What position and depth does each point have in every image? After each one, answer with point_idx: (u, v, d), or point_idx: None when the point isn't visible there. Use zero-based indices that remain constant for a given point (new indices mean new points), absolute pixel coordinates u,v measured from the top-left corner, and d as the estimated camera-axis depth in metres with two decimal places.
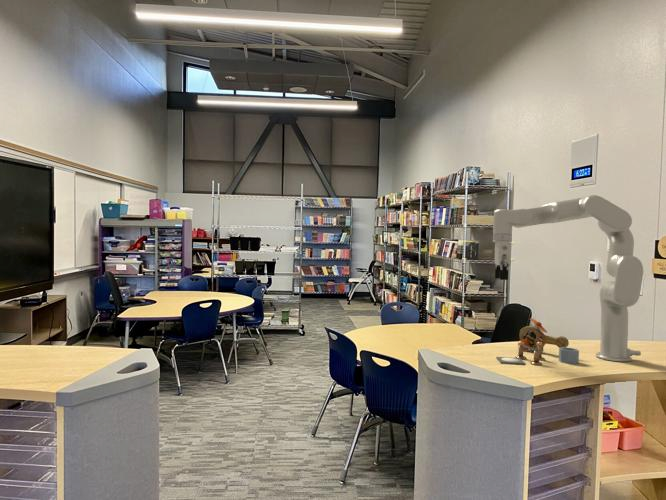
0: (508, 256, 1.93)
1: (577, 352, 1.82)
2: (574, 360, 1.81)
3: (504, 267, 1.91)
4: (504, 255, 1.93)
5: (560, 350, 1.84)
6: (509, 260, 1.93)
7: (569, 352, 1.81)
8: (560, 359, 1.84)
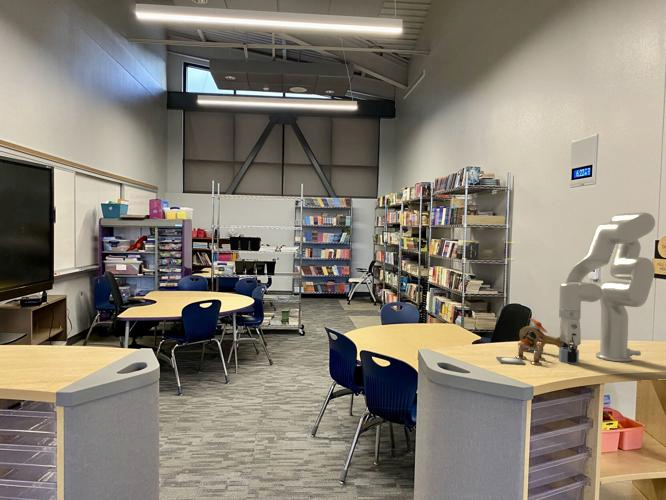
0: (578, 335, 1.79)
1: (577, 352, 1.82)
2: None
3: (573, 349, 1.78)
4: (573, 336, 1.79)
5: (560, 350, 1.84)
6: (579, 340, 1.79)
7: None
8: (560, 359, 1.84)
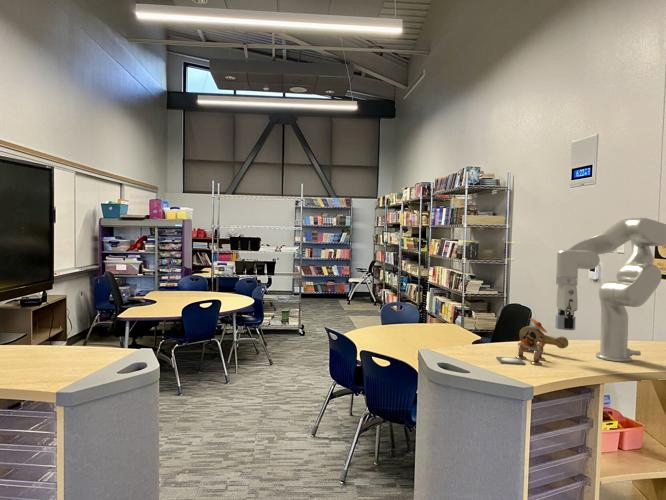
0: (575, 301, 1.79)
1: (574, 318, 1.82)
2: None
3: (570, 315, 1.79)
4: (570, 301, 1.79)
5: (557, 317, 1.84)
6: (576, 306, 1.79)
7: None
8: (557, 326, 1.84)
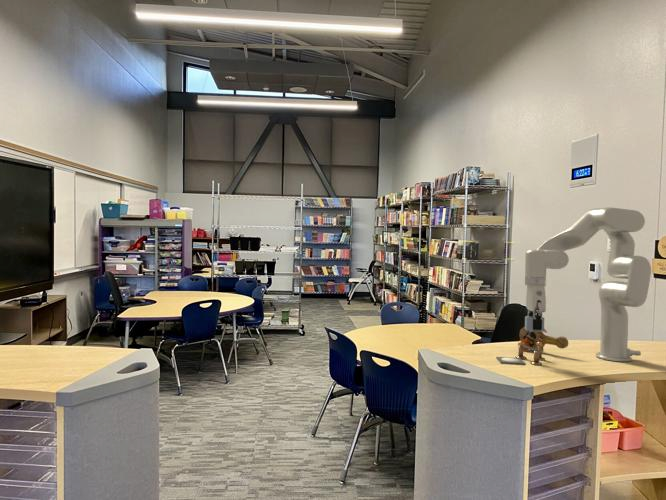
0: (543, 302, 1.76)
1: (542, 320, 1.78)
2: None
3: (538, 317, 1.75)
4: (538, 302, 1.76)
5: (526, 318, 1.81)
6: (544, 307, 1.76)
7: None
8: (526, 327, 1.81)
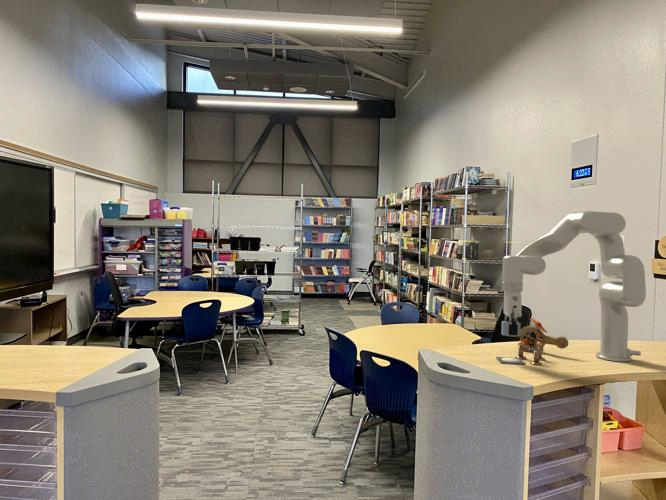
0: (519, 308, 1.77)
1: (518, 325, 1.80)
2: None
3: (513, 322, 1.77)
4: (514, 308, 1.77)
5: (502, 323, 1.83)
6: (520, 312, 1.77)
7: None
8: (502, 332, 1.82)
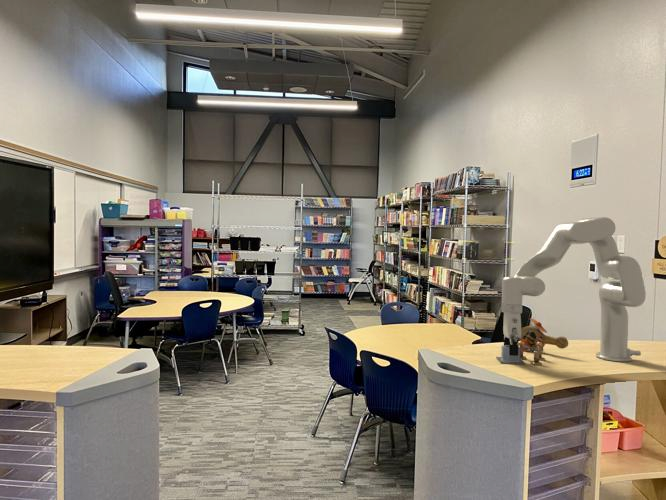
0: (518, 330, 1.77)
1: (518, 350, 1.80)
2: (515, 358, 1.79)
3: (514, 342, 1.76)
4: (514, 329, 1.77)
5: (502, 348, 1.83)
6: (519, 334, 1.77)
7: None
8: (502, 357, 1.82)
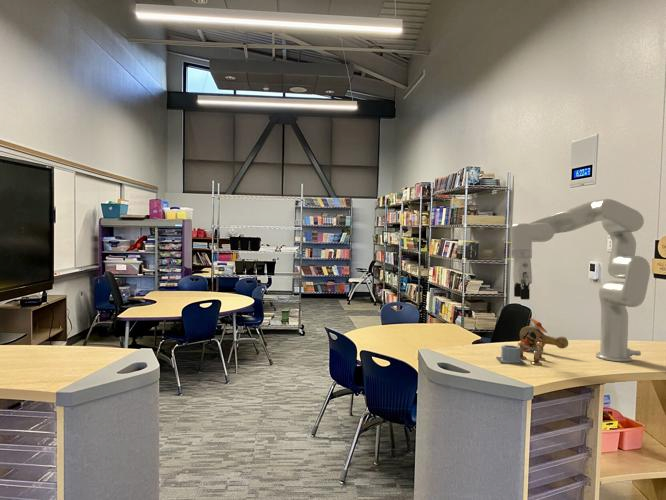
0: (529, 274, 1.80)
1: (518, 350, 1.80)
2: (515, 358, 1.79)
3: (525, 286, 1.78)
4: (525, 273, 1.80)
5: (502, 348, 1.83)
6: (530, 278, 1.80)
7: (510, 350, 1.79)
8: (502, 357, 1.82)
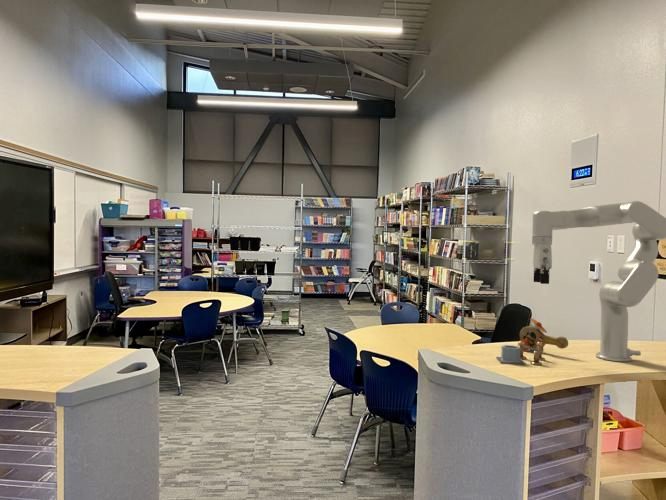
0: (549, 259, 1.87)
1: (518, 350, 1.80)
2: (515, 358, 1.79)
3: (545, 271, 1.85)
4: (545, 258, 1.87)
5: (502, 348, 1.83)
6: (550, 263, 1.87)
7: (510, 350, 1.79)
8: (502, 357, 1.82)
